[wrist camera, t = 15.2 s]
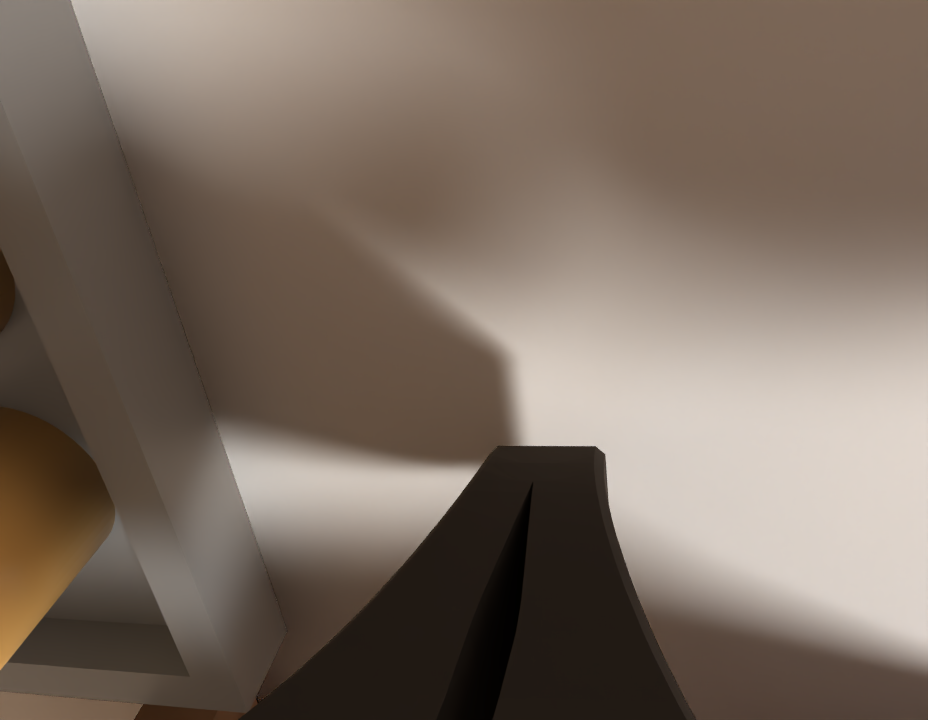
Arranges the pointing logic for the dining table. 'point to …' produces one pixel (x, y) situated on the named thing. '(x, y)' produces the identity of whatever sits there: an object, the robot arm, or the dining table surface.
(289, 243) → the dining table surface
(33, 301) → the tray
